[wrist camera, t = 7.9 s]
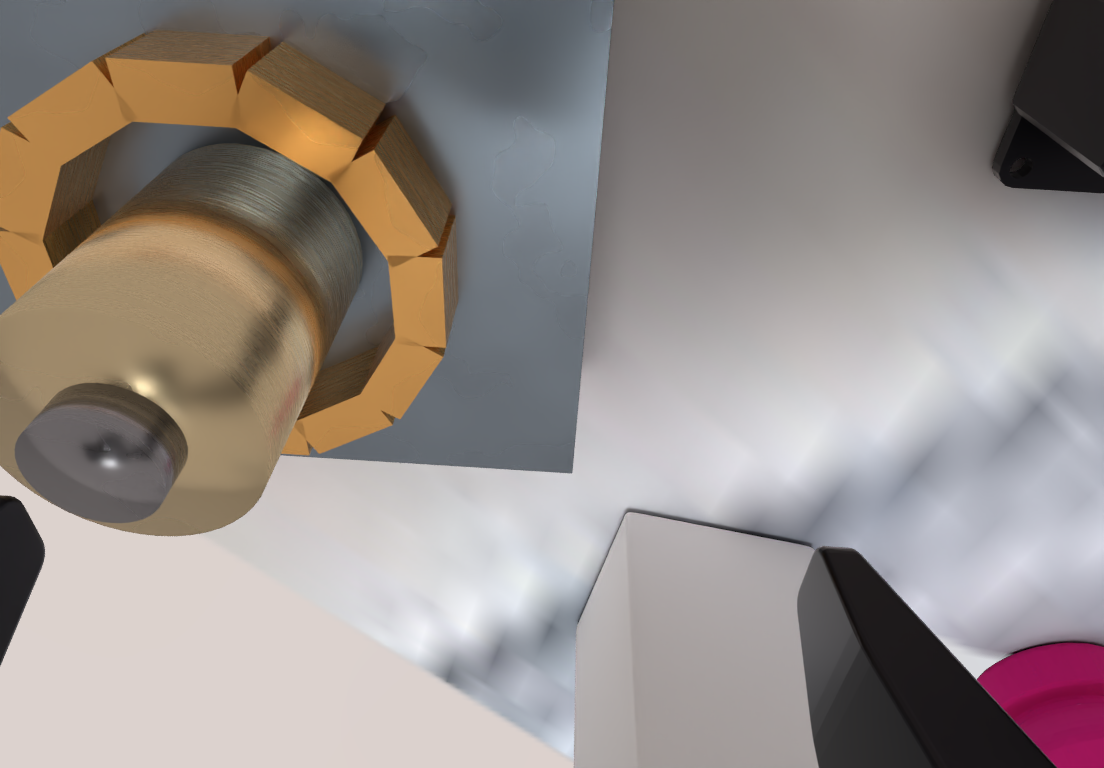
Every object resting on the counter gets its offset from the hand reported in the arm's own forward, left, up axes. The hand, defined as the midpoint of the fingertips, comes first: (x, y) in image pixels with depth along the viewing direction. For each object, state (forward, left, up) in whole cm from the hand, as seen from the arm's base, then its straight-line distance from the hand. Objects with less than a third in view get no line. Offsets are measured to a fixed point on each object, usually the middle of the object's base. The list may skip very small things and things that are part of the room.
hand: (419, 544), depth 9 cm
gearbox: (+7, +1, -13) cm, 15 cm away
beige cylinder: (+5, +1, -8) cm, 10 cm away
